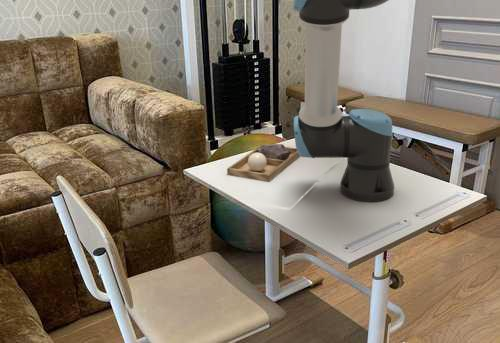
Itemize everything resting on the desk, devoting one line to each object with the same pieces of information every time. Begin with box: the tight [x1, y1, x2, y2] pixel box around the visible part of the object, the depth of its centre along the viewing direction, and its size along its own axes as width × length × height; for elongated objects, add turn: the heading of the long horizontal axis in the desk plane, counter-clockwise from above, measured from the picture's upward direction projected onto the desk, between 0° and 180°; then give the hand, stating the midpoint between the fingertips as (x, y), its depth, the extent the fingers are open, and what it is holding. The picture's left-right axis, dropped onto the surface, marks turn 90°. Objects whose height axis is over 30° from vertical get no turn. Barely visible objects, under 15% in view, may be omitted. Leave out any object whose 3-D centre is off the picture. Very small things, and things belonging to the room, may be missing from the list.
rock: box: [257, 143, 291, 160], centre depth 168 cm, size 8×11×5 cm
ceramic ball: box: [248, 153, 267, 171], centre depth 157 cm, size 6×6×6 cm
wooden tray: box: [226, 143, 301, 183], centre depth 163 cm, size 15×26×3 cm, turn 152°
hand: (318, 69), depth 168 cm, fingers open, 13 cm apart
